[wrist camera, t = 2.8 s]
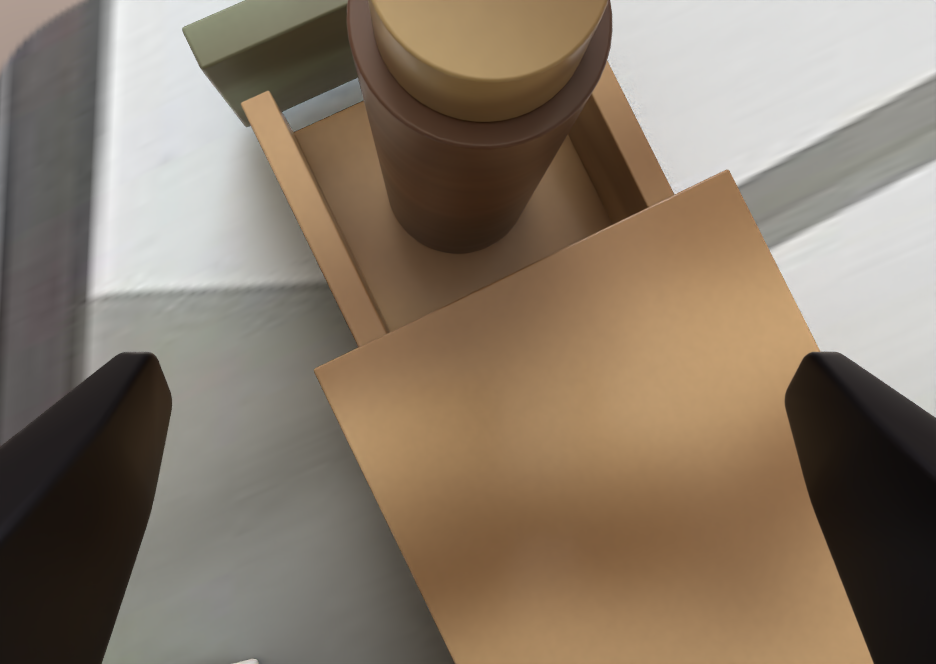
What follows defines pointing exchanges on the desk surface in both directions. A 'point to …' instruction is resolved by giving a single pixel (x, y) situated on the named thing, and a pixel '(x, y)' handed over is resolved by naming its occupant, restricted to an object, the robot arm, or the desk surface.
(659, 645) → the drawer unit
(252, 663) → the syrup box
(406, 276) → the drawer
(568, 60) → the pepper mill
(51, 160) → the desk surface
